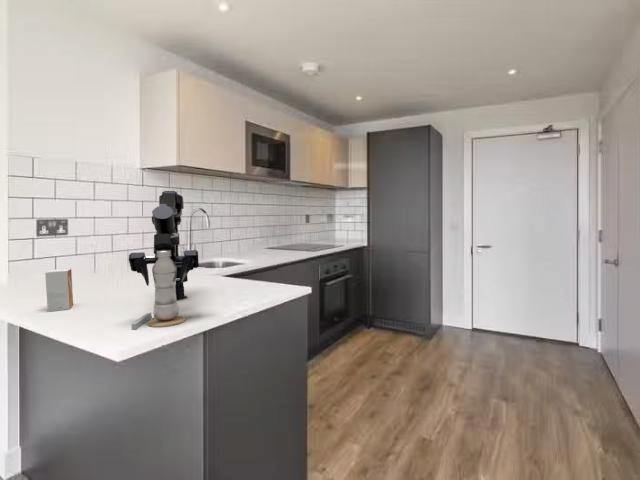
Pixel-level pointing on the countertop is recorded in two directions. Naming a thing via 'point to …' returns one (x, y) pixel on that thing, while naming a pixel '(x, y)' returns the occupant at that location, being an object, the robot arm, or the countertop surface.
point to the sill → (141, 321)
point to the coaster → (166, 322)
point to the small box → (59, 289)
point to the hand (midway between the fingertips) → (164, 283)
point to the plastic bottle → (165, 286)
